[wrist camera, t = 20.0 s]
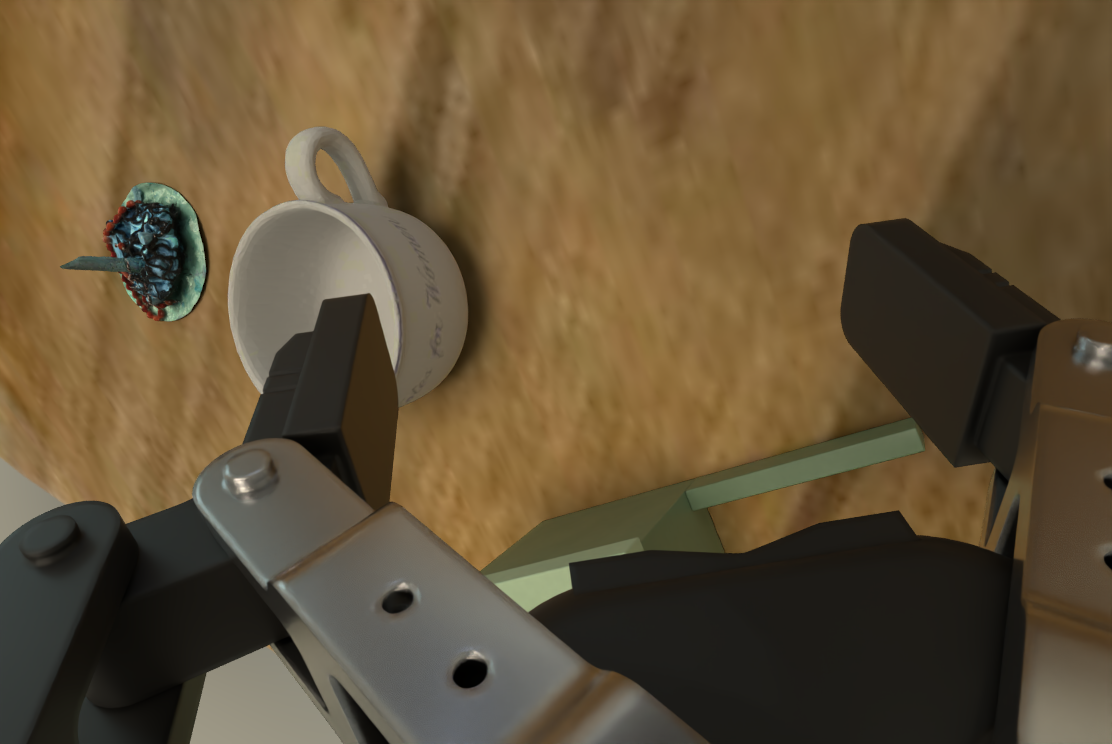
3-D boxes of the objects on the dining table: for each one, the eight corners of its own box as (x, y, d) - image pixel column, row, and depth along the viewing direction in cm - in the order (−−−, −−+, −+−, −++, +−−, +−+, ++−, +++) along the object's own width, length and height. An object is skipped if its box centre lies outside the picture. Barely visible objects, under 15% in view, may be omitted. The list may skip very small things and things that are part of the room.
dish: (185, 313, 44) (48, 275, 43) (204, 338, 51) (86, 305, 49) (227, 196, 46) (98, 154, 44) (240, 234, 53) (128, 200, 51)
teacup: (482, 419, 40) (389, 461, 33) (327, 374, 44) (215, 402, 37) (512, 153, 36) (415, 135, 29) (341, 132, 40) (219, 112, 33)
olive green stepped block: (911, 404, 30) (912, 482, 21) (1025, 695, 30) (1077, 901, 21) (531, 514, 39) (413, 603, 30) (619, 738, 39) (530, 896, 30)
